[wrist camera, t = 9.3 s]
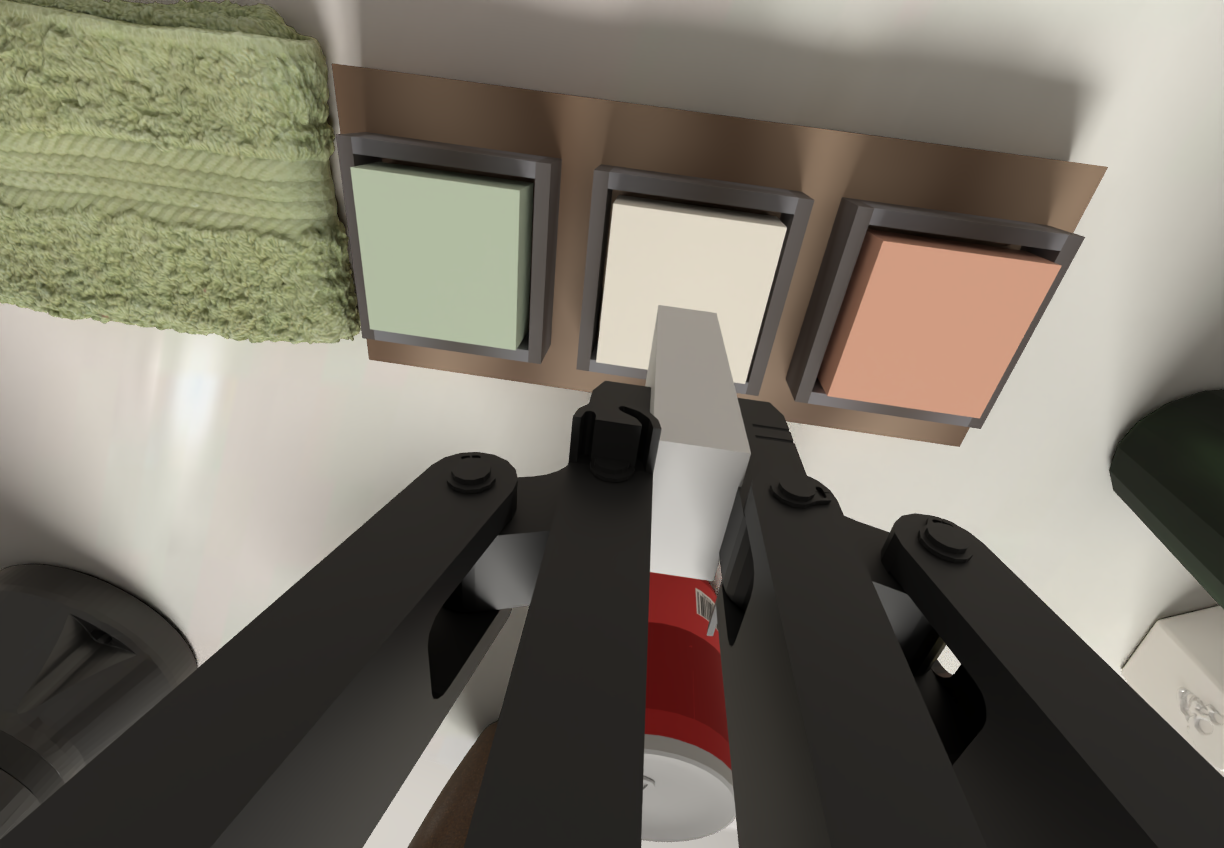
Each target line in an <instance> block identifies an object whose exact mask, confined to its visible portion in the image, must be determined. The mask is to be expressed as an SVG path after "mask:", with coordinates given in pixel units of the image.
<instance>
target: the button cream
mask: <svg viewBox="0 0 1224 848" xmlns="http://www.w3.org/2000/svg"><path fill="white" fill-rule="evenodd" d="M786 230H787V227H786V226H785V225H784V224H783V223H782V222H781V221H780V220H779V218H778V217H777V216H769V215H762V214H755V213H748V212H740V211H733V210H726V209H719V208H711V207H704V206H697V205H690V204H682V203H675V202H668V201H661V200H653V199H646V198H639V197H632V196H624V195H618V197H617V198H616V200H615V202H614V203H613V210H612V220H611V229H610V238H609V247H608V257H607V266H606V275H605V284H604V293H603V303H602V312H601V321H600V330H599V340H598V349H597V358H596V362H598V363H605V364H611V365H618V366H625V367H632V368H639V369H646V370H648V366H649V360H650V354H651V347H652V341H653V335H654V329H655V323H656V317H657V311H658V305H663V306H670V307H677V308H684V309H691V310H699V311H706V312H713V313H717V317H718V321H719V325H720V329H721V333H722V337H723V341H724V345H725V349H726V354H727V358H728V362H729V366H730V370H731V374H732V378H733V382H735V383H741V384H745V382H746V379H747V375H748V371H749V368H750V364H751V360H752V356H753V353H754V349H755V345H756V341H757V338H758V334H759V330H760V327H761V323H762V319H763V315H764V312H765V308H766V304H767V301H768V297H769V293H770V289H771V286H772V282H773V278H774V275H775V271H776V267H777V263H778V260H779V256H780V252H781V248H782V245H783V241H784V237H785V234H786Z"/></svg>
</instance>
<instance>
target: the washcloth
mask: <svg viewBox="0 0 1224 848" xmlns="http://www.w3.org/2000/svg"><path fill="white" fill-rule="evenodd" d="M327 73H328V69H327V65H326V60H325V56H324V55H323V54H322V50H321V47H320V44H319V42H318V41H317V39H315V38H313V37H308V36H304V35H300V34H298V33H296V31H295V30H294V28H293V27H289V26H287V25H286V24H285V23H284V20H283V18H282V17H281V16H280V15H279V14H278V13H277V12H276V11H275V10H274V9H273V8H272V7H270V6H268V5H265V4H259V3H258V4H257V5H252V6H247V5H245V6H243V7H241V6H240V5H238V4H236V3H235V4H232V3H231V2H230V1H229V0H225V1H223V2H222V3H220V4H218V3H216V2H215V1H214V2H208V1H204V2H203V3H201V2H199V1H197V0H193V1H191V2H188V3H186V2H185V1H184V0H179V2H178V3H176V4H169V5H165V4H160V3H157V2H154V3H149V4H143V3H132V2H127V1H122V0H110V1H109V2H106V1H103V0H0V303H2V304H4V303H8V304H12V305H14V304H16V306H18V307H21V308H29V309H32V310H34V311H39V312H45V313H47V312H48V313H49V315H51V316H53V317H60V318H68V319H71V320H77V319H84V318H86V319H87V318H90V317H91V318H92V319H93V320H97V321H101V322H102V323H104V324H105V323H107V322H109V321H115V322H121V323H124V324H126V325H135V324H136V325H137V326H140V327H156V328H157V329H159V330H164V329H174V330H175V331H177V332H179V333H184V332H186V333H189V334H203V335H206V336H207V335H208V334H209V333H210V334H212V333H215V334H217V335H221V336H222V337H224V338H226V339H229V338H231V339H234V340H237V341H242V340H246V339H249V341H250V342H251V343H256V342H260V343H261V342H263V341H267V340H270V341H272V342H277V341H287V342H291V343H292V344H297V343H300V342H308V343H309V344H312V343H313V342H315V343H336V342H339V341H340V339H342V338H343V339H347V340H349V339H351V340H352V341H353V340H354V338H353V336H355V335H357V334H359V332H360V330H361V328H360V326H361V323H360V315H359V312H358V309H357V308H356V305H357V295H356V294H355V292H354V290H355V285H354V283H353V278H352V277H351V273H352V270H351V269H349V268H350V266H351V264H350V262H349V255H348V251H347V247H348V240H349V238H348V237H347V235H346V232H345V231H346V228H345V227H344V225H343V223H342V222H341V221H339V218H338V215H337V202H336V199H335V188H334V183H333V181H332V178H331V171H330V163H329V157H330V156H331V155H332V154H333V152H334V150H335V146H334V143H333V140H334V139H335V136H334V133H333V131H334V130H333V128H332V127H331V126H330V125H328V124H327V123H328V122H327V118H328V116H329V106H328V104H327V101H328V98H329V90H328V87H327V80H328V75H327Z"/></svg>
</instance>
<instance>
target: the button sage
mask: <svg viewBox="0 0 1224 848" xmlns="http://www.w3.org/2000/svg"><path fill="white" fill-rule="evenodd" d="M350 169H351V177H352V185H353V193H354V202H355V210H356V218H357V226H358V235H359V243H360V251H361V259H362V267H363V276H364V284H365V292H366V300H367V308H368V317H369V325H370V329H373V330H379V331H386V332H393V333H400V334H407V335H414V336H420V337H427V338H434V339H441V340H448V341H455V342H461V343H468V344H475V345H482V346H489V347H496V348H502V349H509V350H516V349H517V348H518V346H519V345H520V343H521V342H522V340H523V338H524V337H525V335H526V334H527V332H528V323H529V296H530V269H531V242H532V215H533V187H534V183H530V182H523V181H516V180H509V179H501V178H494V177H487V176H480V175H472V174H465V173H458V172H451V171H443V170H436V169H429V168H422V167H414V166H407V165H400V164H393V163H385V162H375V163H370V164H364V165H359V166H354V167H350Z"/></svg>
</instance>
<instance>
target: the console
mask: <svg viewBox="0 0 1224 848" xmlns="http://www.w3.org/2000/svg"><path fill="white" fill-rule="evenodd" d="M332 70H333V78H334V86H335V94H336V102H337V109H338V117H339V125H340V133H341V134H336V139H337V147H338V155H339V162H340V170H341V177H342V185H343V193H344V200H345V208H346V216H347V223H348V231H349V239H350V246H351V254H352V262H353V269H354V277H355V285H356V292H357V300H358V308H359V315H360V323H361V331H362V338H365V339H367V346H368V354H369V360H376V361H383V362H389V363H396V364H403V365H410V366H416V367H423V368H430V369H437V370H443V371H450V372H457V373H464V374H470V375H477V376H484V377H491V378H498V379H504V380H511V381H518V382H525V383H531V384H538V385H545V386H552V387H558V388H565V389H572V390H579V391H585V392H592V391H593V389H595V388H596V387H597V386H599V385H600V384H601V383H603V382H604V381H611V382H618V383H626V384H633V385H640V386H645V384H646V378H647V372H648V370H646V369H639V368H632V367H625V366H618V365H611V364H605V363H598V362H596V358H597V349H598V340H599V330H600V321H601V312H602V303H603V293H604V284H605V275H606V266H607V257H608V247H609V238H610V229H611V220H612V210H613V203H614V202H615V200H616V198H617V197H618V195H624V196H632V197H639V198H646V199H653V200H661V201H668V202H675V203H682V204H690V205H697V206H704V207H711V208H719V209H726V210H733V211H740V212H748V213H755V214H762V215H769V216H777V217H778V218H779V220H780V221H781V222H782V223H783V224H784V225H785V226H786V227H787V230H786V234H785V237H784V241H783V245H782V248H781V252H780V256H779V260H778V263H777V267H776V271H775V275H774V278H773V282H772V286H771V289H770V293H769V297H768V301H767V304H766V308H765V312H764V315H763V319H762V323H761V327H760V330H759V334H758V338H757V341H756V345H755V349H754V353H753V356H752V360H751V364H750V368H749V371H748V375H747V379H746V382H745V384H741V383H735V382H734V386H735V390H736V394H737V398H743V399H750V400H757V401H764V402H770V403H771V404H772V405H773V406H774V407H775V408H776V409H777V410H778V411H779V412H781V413H782V414H783V415H784V417H785V420H786V421H788V422H795V423H802V424H809V425H815V426H822V427H829V428H836V429H843V430H849V431H856V432H863V433H870V434H876V435H883V436H890V437H897V438H903V439H910V440H917V441H924V442H930V443H937V444H944V445H951V446H958V447H960V445H961V443H962V441H963V439H964V437H965V435H966V433H967V432H968V430H969V428H970V427H972V428H978V429H981V427H982V426H983V424H984V422H985V420H986V418H987V416H988V415H989V413H990V411H991V409H992V407H993V405H994V403H995V402H996V400H997V398H998V396H999V394H1000V392H1001V391H1002V389H1003V387H1004V385H1005V383H1006V381H1007V380H1008V378H1009V376H1010V374H1011V372H1012V370H1013V369H1014V367H1015V365H1016V363H1017V361H1018V359H1019V358H1020V356H1021V354H1022V352H1023V350H1024V348H1025V347H1026V345H1027V343H1028V341H1029V339H1030V337H1031V336H1032V334H1033V332H1034V330H1035V328H1036V326H1037V325H1038V323H1039V321H1040V319H1041V317H1042V315H1043V313H1044V312H1045V310H1046V308H1047V306H1048V304H1049V302H1050V301H1051V299H1052V297H1053V295H1054V293H1055V291H1056V290H1057V288H1058V286H1059V284H1060V282H1061V280H1062V279H1063V277H1064V275H1065V273H1066V271H1067V269H1068V268H1069V266H1070V264H1071V262H1072V260H1073V258H1074V257H1075V255H1076V253H1077V251H1078V249H1079V247H1080V246H1081V244H1082V242H1083V240H1084V238H1085V237H1083V236H1080V235H1077V234H1074V233H1073V232H1074V230H1075V228H1076V226H1077V225H1078V223H1079V221H1080V219H1081V217H1082V215H1083V213H1084V211H1085V209H1086V208H1087V206H1088V204H1089V202H1090V200H1091V198H1092V196H1093V194H1094V193H1095V191H1096V189H1097V187H1098V185H1099V183H1100V181H1101V179H1102V177H1103V176H1104V174H1105V172H1106V170H1107V168H1108V167H1104V166H1097V165H1089V164H1082V163H1075V162H1068V161H1060V160H1053V159H1045V158H1038V157H1030V156H1023V155H1015V154H1008V153H1000V152H993V151H985V150H978V149H970V148H963V147H955V146H948V145H940V144H933V143H925V142H918V141H910V140H903V139H895V138H888V137H880V136H873V135H865V134H858V133H850V132H843V131H835V130H828V129H820V128H813V127H805V126H798V125H790V124H783V123H775V122H768V121H760V120H753V119H745V118H738V117H730V116H723V115H715V114H708V113H700V112H693V111H685V110H678V109H670V108H663V107H655V106H648V105H640V104H633V103H625V102H618V101H610V100H603V99H595V98H588V97H580V96H573V95H565V94H558V93H550V92H543V91H535V90H528V89H520V88H513V87H505V86H498V85H490V84H483V83H475V82H468V81H460V80H453V79H445V78H438V77H430V76H423V75H415V74H408V73H400V72H393V71H386V70H378V69H371V68H363V67H355V66H347V65H339V64H332ZM375 162H385V163H393V164H400V165H407V166H414V167H422V168H429V169H436V170H443V171H451V172H458V173H465V174H472V175H480V176H487V177H494V178H501V179H509V180H516V181H523V182H530V183H534V187H533V215H532V242H531V269H530V296H529V323H528V332H527V334H526V335H525V337H524V338H523V340H522V342H521V343H520V345H519V346H518V348H517V349H516V350H509V349H502V348H496V347H489V346H482V345H475V344H468V343H461V342H455V341H448V340H441V339H434V338H427V337H420V336H414V335H407V334H400V333H393V332H386V331H379V330H373V329H370V325H369V317H368V308H367V300H366V292H365V284H364V276H363V267H362V259H361V251H360V243H359V235H358V226H357V218H356V210H355V202H354V193H353V185H352V177H351V169H350V167H354V166H359V165H364V164H370V163H375ZM867 229H871V230H878V231H885V232H892V233H900V234H907V235H914V236H921V237H929V238H936V239H943V240H950V241H958V242H965V243H972V244H979V245H987V246H994V247H1001V248H1008V249H1016V250H1023V251H1027V252H1030V253H1032V254H1034V255H1037V256H1039V257H1042V258H1044V259H1047V260H1049V261H1052V262H1054V263H1056V264H1059V265H1061V268H1060V270H1059V272H1058V274H1057V276H1056V277H1055V279H1054V281H1053V283H1052V285H1051V287H1050V289H1049V290H1048V292H1047V294H1046V296H1045V298H1044V300H1043V302H1042V303H1041V305H1040V307H1039V309H1038V311H1037V313H1036V315H1035V316H1034V318H1033V320H1032V322H1031V324H1030V326H1029V328H1028V330H1027V331H1026V333H1025V335H1024V337H1023V339H1022V341H1021V343H1020V344H1019V346H1018V348H1017V350H1016V352H1015V354H1014V356H1013V357H1012V359H1011V361H1010V363H1009V365H1008V367H1007V369H1006V370H1005V372H1004V374H1003V376H1002V378H1001V380H1000V382H999V384H998V385H997V387H996V389H995V391H994V393H993V395H992V397H991V398H990V400H989V402H988V404H987V406H986V408H985V410H984V411H983V413H982V415H981V417H980V418H973V417H967V416H960V415H953V414H946V413H939V412H932V411H926V410H919V409H912V408H905V407H898V406H891V405H885V404H878V403H871V402H864V401H857V400H850V399H844V398H837V397H830V396H827V395H826V393H825V391H824V389H823V387H822V385H821V383H820V381H819V380H818V378H817V375H818V372H819V369H820V366H821V363H822V360H823V357H824V354H825V351H826V348H827V345H828V343H829V340H830V337H831V334H832V331H833V328H834V325H835V322H836V319H837V316H838V313H839V310H840V307H841V305H842V302H843V299H844V296H845V293H846V290H847V287H848V284H849V281H850V278H851V275H852V272H853V269H854V267H855V264H856V261H857V258H858V255H859V252H860V249H861V246H862V243H863V240H864V237H865V234H866V231H867Z"/></svg>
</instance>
